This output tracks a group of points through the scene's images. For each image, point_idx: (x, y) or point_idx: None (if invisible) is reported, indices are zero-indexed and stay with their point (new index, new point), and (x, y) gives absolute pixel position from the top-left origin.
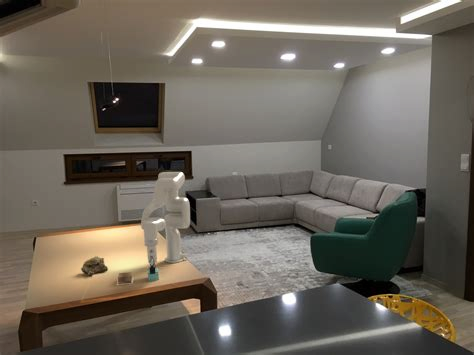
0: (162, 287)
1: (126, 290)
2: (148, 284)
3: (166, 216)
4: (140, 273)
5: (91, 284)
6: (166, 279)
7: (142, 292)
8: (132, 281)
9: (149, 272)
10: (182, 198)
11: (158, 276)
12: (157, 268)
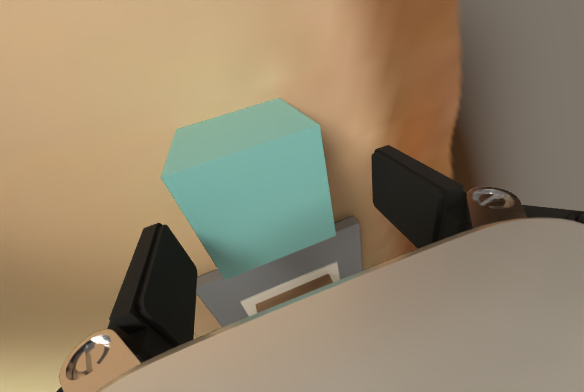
0: (425, 21)
1: (391, 250)
2: (334, 169)
3: None
4: (101, 312)
5: None
6: (219, 12)
7: (448, 160)
8: (307, 277)
9: (329, 223)
10: None
11: (296, 110)
12: (176, 183)
